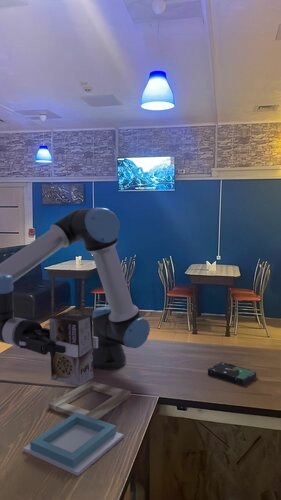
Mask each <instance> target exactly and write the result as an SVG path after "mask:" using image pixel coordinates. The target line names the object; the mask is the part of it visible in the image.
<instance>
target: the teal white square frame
mask: <svg viewBox="0 0 281 500" xmlns="http://www.w3.org/2000/svg"><path fill="white" fill-rule="evenodd" d="M123 438H124V434H123V433H121V432H117V425H115V424H112V423H109V422H106V421H103V420H100V419H95V418H92V417H89V416H86V415H83V414H80V413H77V412H76V413H74V414H73V415H71V416H68V417H66V418H65V419H63V420H62V421H59V423H57V424H55V425H54V426H53V427H51V428H49V429H47V430H45V432H43V433H41V434H39V436H36V437H35V438H33V439H31V440H30V441H29V443H28V444H27V445H25V446H24V447H23V448H22V449H23V452H25V453H27V454H29V455H31V456H34V457H36V458H37V459H39V460H43V461H45V462H46V463H48V464H51V465H53V466H56V467H58V468H60V469H62V470H65V472H68V473H71V474H73V475H75V476H77V477H79V476H80V475H81V474H82V473H84V472H85V471H86V470H88V469H89V467H91V466H92V465H93V464H94V463H95V462H96V461H97V460H99V459H100V458H102V456H103V455H104V454H105V453H107V452H108V451H109V450H111V449H112V448H113V447H114V446H115V445H116V444H118V443H119V441H121V440H122V439H123Z"/></svg>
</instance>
